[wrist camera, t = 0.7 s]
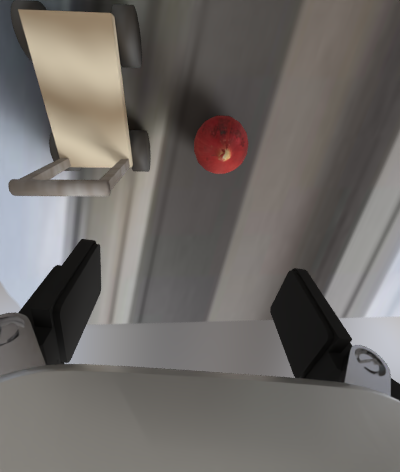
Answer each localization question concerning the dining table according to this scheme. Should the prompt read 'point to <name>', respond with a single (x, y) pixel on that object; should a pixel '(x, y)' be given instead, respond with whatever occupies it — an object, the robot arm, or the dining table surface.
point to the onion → (220, 144)
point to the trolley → (82, 95)
